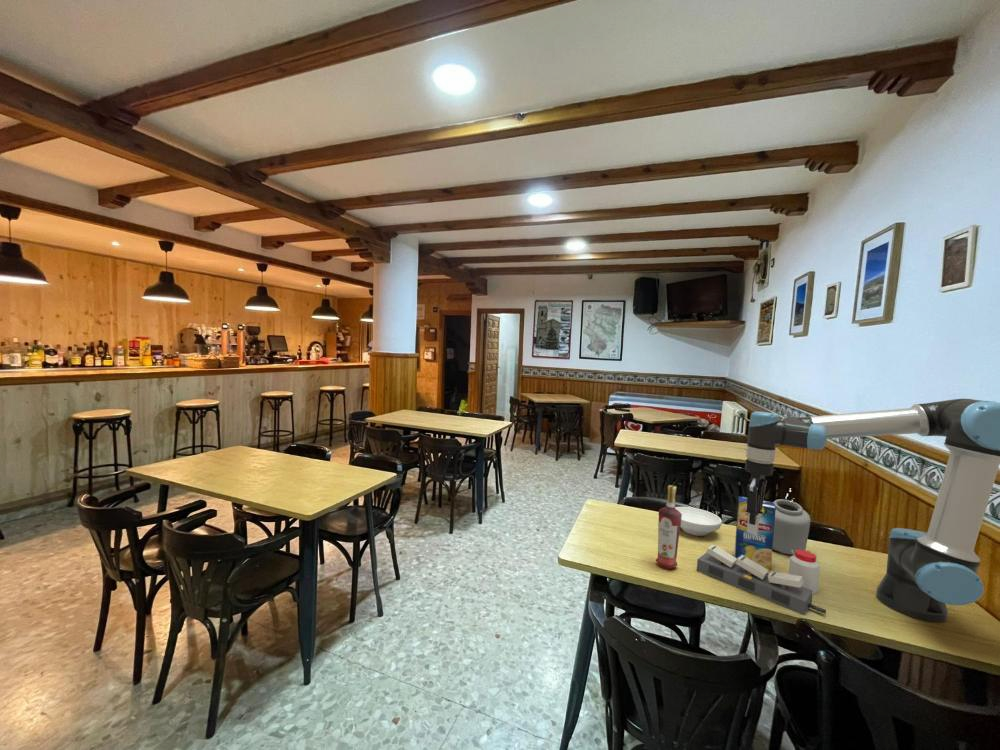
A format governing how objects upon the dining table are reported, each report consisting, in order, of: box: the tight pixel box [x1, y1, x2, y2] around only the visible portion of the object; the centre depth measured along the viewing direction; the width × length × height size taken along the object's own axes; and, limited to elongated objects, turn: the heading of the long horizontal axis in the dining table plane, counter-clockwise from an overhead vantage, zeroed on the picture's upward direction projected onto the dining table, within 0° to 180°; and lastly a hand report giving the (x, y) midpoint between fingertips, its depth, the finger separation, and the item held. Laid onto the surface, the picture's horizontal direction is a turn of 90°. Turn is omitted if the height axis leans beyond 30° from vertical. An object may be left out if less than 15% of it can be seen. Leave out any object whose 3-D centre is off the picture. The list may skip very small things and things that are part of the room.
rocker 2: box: [736, 555, 770, 580], centre depth 129 cm, size 8×4×2 cm, turn 42°
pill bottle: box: [788, 549, 821, 594], centre depth 130 cm, size 8×8×11 cm
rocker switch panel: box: [696, 552, 827, 616], centre depth 128 cm, size 34×9×5 cm, turn 42°
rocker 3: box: [768, 571, 804, 588], centre depth 122 cm, size 8×4×2 cm, turn 42°
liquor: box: [655, 484, 682, 570], centre depth 139 cm, size 7×7×28 cm
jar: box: [772, 488, 811, 556], centre depth 156 cm, size 19×15×25 cm
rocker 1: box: [706, 544, 737, 567], centre depth 136 cm, size 8×4×2 cm, turn 42°
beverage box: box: [733, 496, 776, 571], centre depth 145 cm, size 7×11×22 cm, turn 61°
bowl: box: [675, 506, 722, 537], centre depth 169 cm, size 20×20×7 cm
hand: (752, 533), depth 129 cm, fingers closed
